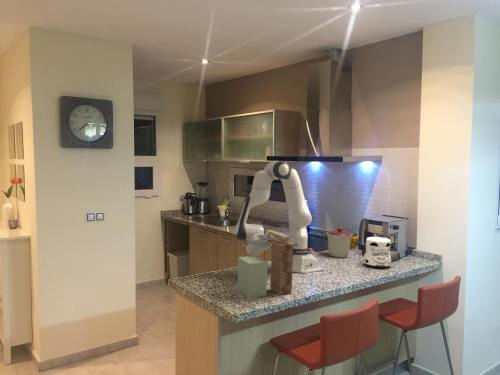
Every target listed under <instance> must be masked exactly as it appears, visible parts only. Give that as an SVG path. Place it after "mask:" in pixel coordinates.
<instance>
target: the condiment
mask: <svg viewBox="0 0 500 375" xmlns="http://www.w3.org/2000/svg"><path fill="white" fill-rule="evenodd" d="M351 234H352V236H351V242H350V248H349V250H352V249H357V248H359V247H358V245H359V244H358V243H359V237H358V233H354V232H353V233H351ZM357 250H358V249H357Z"/></svg>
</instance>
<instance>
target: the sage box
mask: <svg viewBox="0 0 500 375" xmlns="http://www.w3.org/2000/svg"><path fill="white" fill-rule="evenodd" d="M236 284H237V285H236V287H237V288H236V289H237V290H238V291H239V292H241V294H243V295H245V297H248V298H255V297H263V296H267V288H268V287H267V284H268V261H266V260H265V259H263V258H261V257H258V255H256V256H251V255H249V256H248V255H247V256H238V257H237V283H236Z"/></svg>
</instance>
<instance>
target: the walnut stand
mask: <svg viewBox="0 0 500 375" xmlns="http://www.w3.org/2000/svg"><path fill="white" fill-rule="evenodd" d="M267 242H269V243H271V244H272V248H271V263H270V265H271V266H270V285H269V286H270V291H272V292H274V293H276V294H277V295H278V296H281V295H282V296H283V295H290V294H292V287H293V272H292V267H293V246H297V244H296V243H293V242H291V241H290V242H289V244H283V243H281V242H278V241H276V240H267Z"/></svg>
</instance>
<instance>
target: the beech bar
mask: <svg viewBox="0 0 500 375" xmlns="http://www.w3.org/2000/svg"><path fill="white" fill-rule="evenodd" d="M266 233H270V236H269V237H268V238H271V239H273V240H276V241H278V242H281V243H283V244H289V242H290V235H286V234H284V233H283V234H284V235H283V234H281V233H282V232H278V231H274V230H272V229H270V230H269V229H267V230H266Z"/></svg>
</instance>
